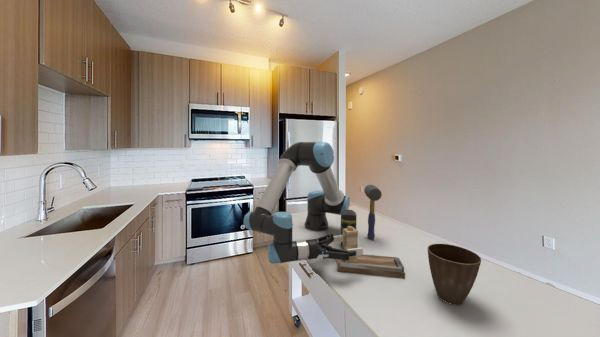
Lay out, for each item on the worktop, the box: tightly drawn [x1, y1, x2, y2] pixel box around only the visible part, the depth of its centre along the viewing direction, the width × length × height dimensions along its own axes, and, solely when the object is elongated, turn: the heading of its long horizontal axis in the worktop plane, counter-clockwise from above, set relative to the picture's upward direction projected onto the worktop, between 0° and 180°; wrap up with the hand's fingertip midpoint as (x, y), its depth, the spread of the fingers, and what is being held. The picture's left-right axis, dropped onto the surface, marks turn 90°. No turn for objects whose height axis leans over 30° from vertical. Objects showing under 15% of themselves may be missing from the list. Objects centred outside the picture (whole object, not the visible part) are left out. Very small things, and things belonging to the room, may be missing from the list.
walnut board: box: [337, 254, 406, 279], centre depth 97 cm, size 13×26×4 cm, turn 80°
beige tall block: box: [341, 226, 359, 263], centre depth 97 cm, size 4×5×15 cm
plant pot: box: [427, 243, 482, 306], centre depth 77 cm, size 15×15×16 cm
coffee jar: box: [340, 209, 357, 248], centre depth 117 cm, size 10×8×19 cm
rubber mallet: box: [363, 184, 382, 240], centre depth 126 cm, size 12×8×30 cm, turn 175°
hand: (354, 244), depth 97 cm, fingers open, 13 cm apart
